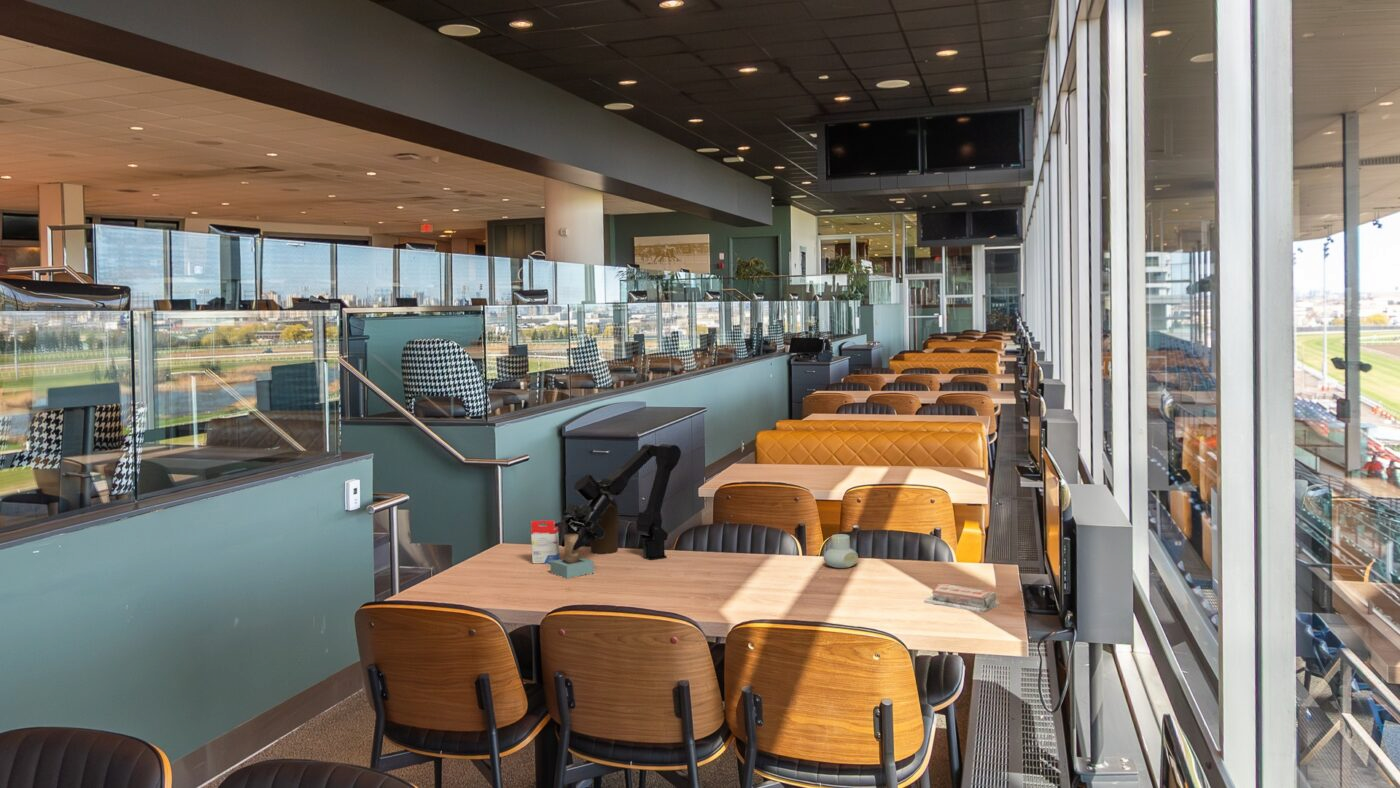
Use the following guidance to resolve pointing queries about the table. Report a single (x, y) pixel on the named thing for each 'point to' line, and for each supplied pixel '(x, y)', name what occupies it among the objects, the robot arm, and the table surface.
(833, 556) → the pale green rounded piece
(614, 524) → the olive oil
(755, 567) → the table surface
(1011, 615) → the table surface
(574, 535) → the peg
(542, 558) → the ink box
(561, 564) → the socket block
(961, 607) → the packaged product
